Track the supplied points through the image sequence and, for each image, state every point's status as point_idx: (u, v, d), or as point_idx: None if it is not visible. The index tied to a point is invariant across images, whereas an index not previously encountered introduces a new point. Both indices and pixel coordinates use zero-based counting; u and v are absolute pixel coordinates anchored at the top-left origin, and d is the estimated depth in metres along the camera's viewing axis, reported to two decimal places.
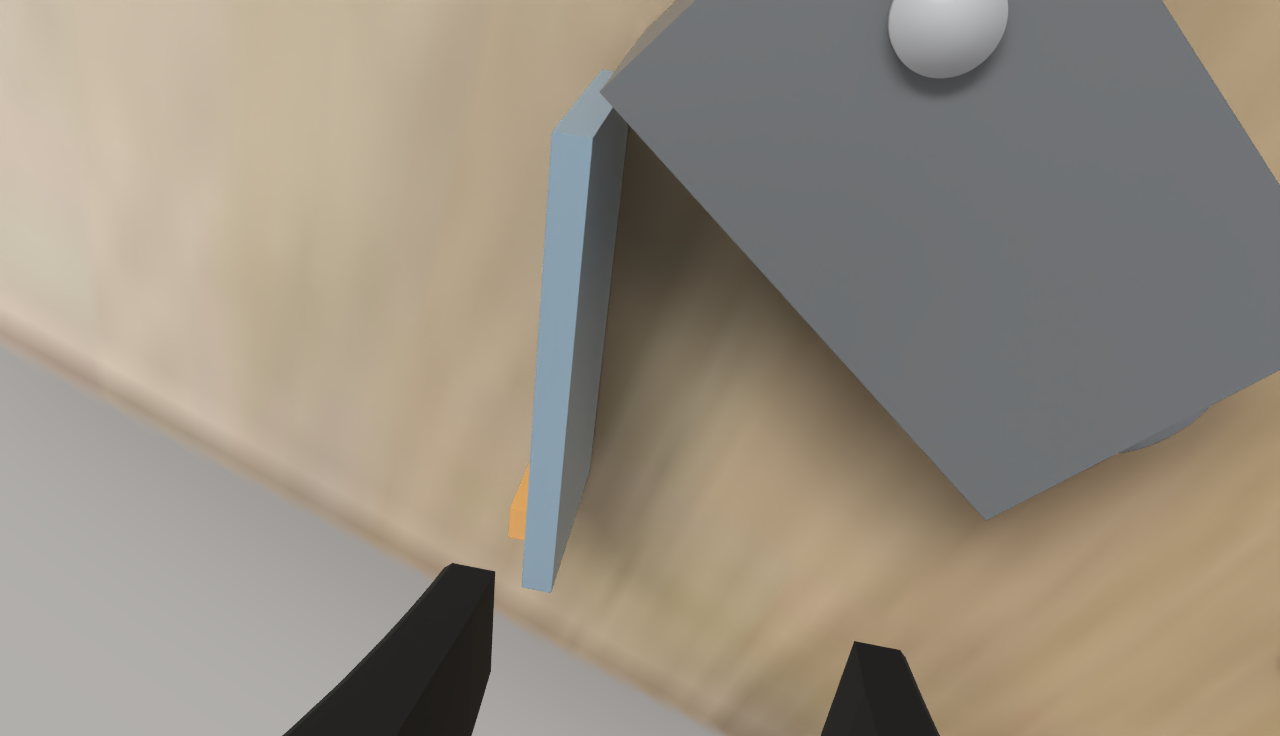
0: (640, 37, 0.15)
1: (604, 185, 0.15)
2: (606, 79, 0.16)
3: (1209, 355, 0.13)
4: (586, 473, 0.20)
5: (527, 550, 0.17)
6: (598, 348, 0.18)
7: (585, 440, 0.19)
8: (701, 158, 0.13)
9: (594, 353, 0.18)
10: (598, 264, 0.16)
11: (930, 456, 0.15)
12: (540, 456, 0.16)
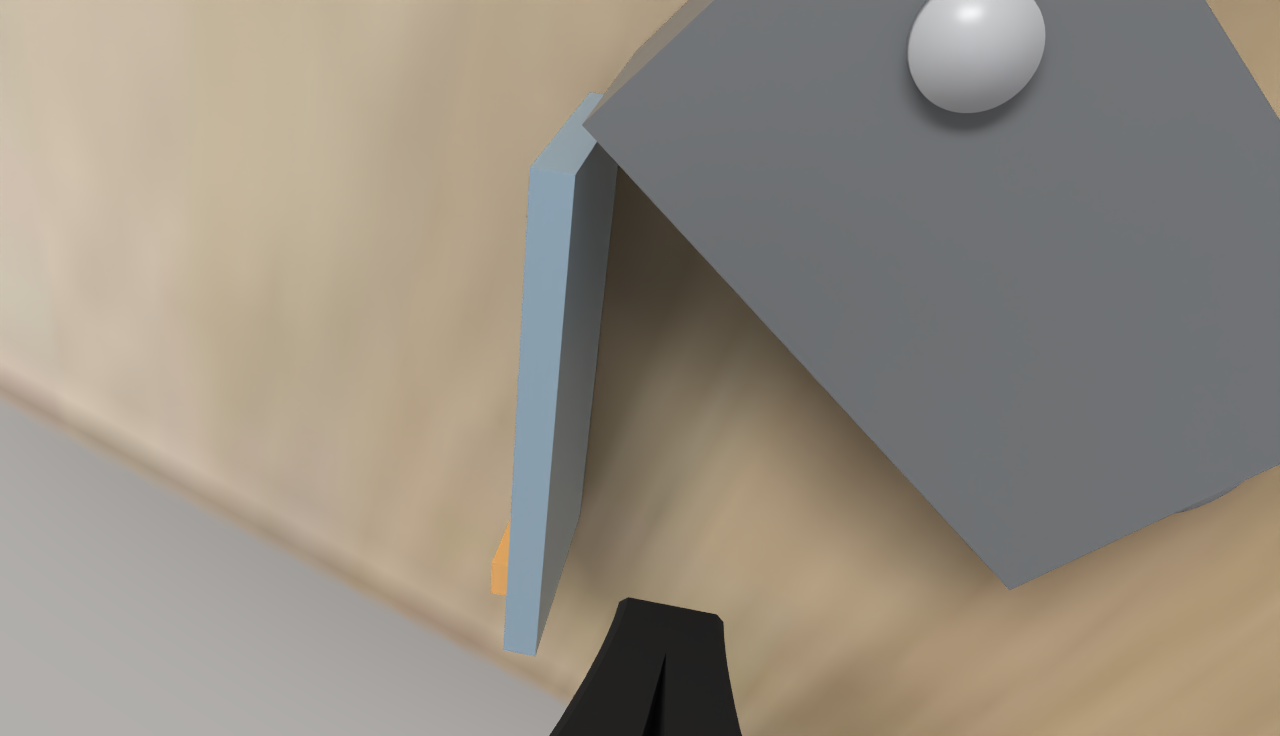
0: (631, 58, 0.14)
1: (591, 221, 0.14)
2: (593, 104, 0.14)
3: (1263, 418, 0.12)
4: (576, 519, 0.19)
5: (509, 612, 0.16)
6: (587, 390, 0.17)
7: (573, 487, 0.18)
8: (695, 198, 0.11)
9: (582, 396, 0.16)
10: (585, 305, 0.15)
11: (949, 520, 0.13)
12: (521, 514, 0.15)
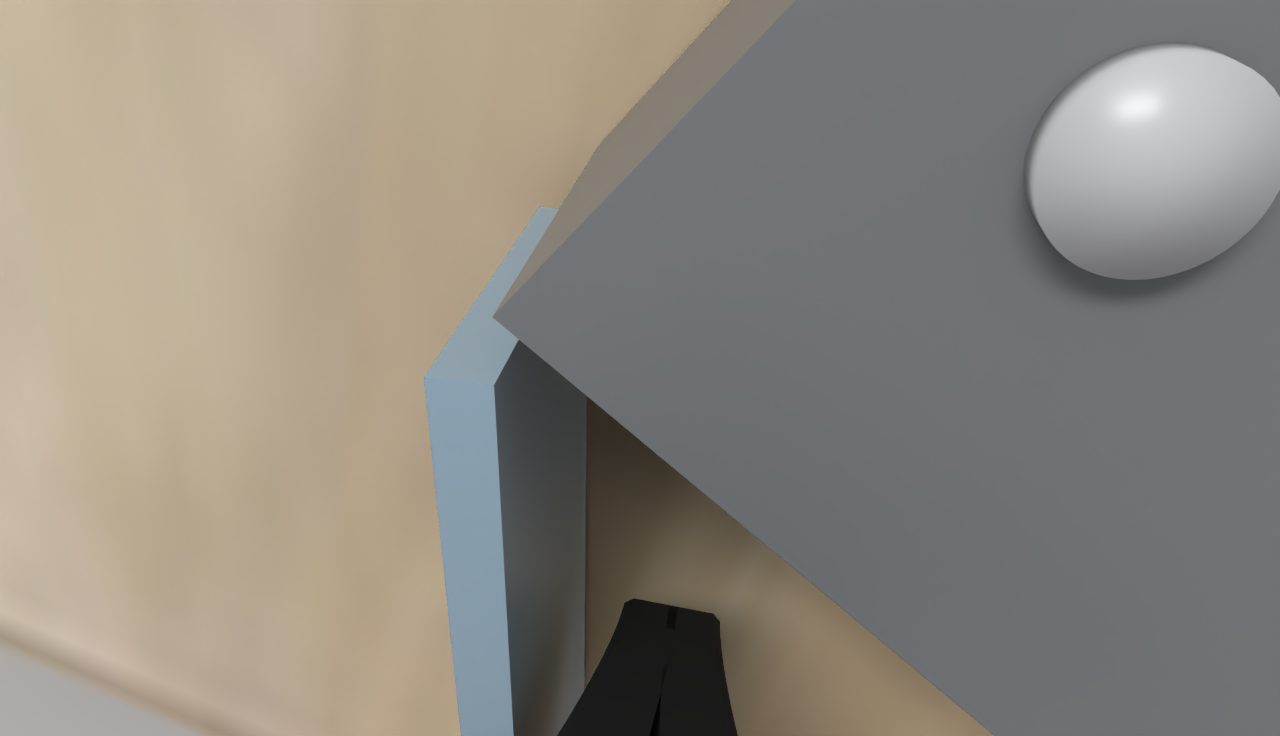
0: (589, 162, 0.10)
1: (544, 406, 0.09)
2: (542, 229, 0.10)
3: None
4: None
5: None
6: (574, 584, 0.13)
7: (567, 705, 0.13)
8: (685, 413, 0.07)
9: (566, 600, 0.12)
10: (551, 507, 0.10)
11: None
12: None
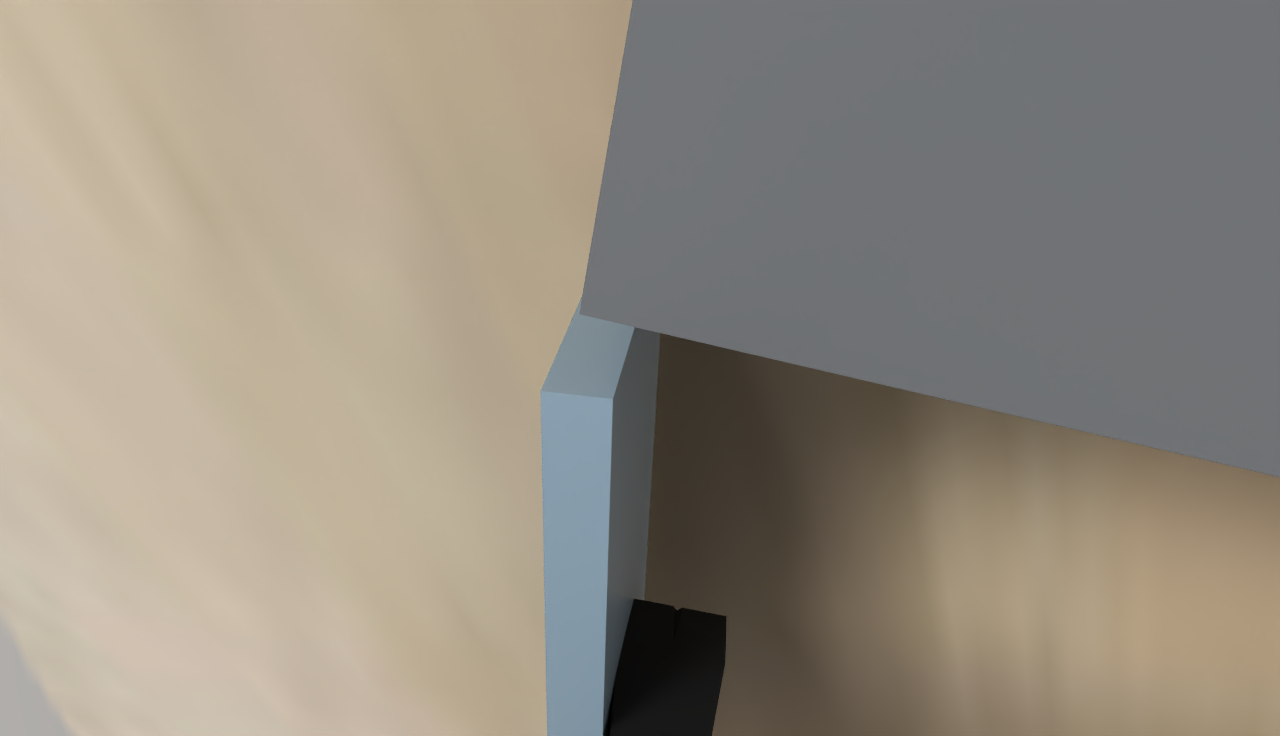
0: None
1: (635, 418, 0.09)
2: None
3: None
4: None
5: None
6: (639, 594, 0.13)
7: None
8: (805, 310, 0.06)
9: None
10: (633, 518, 0.10)
11: None
12: None
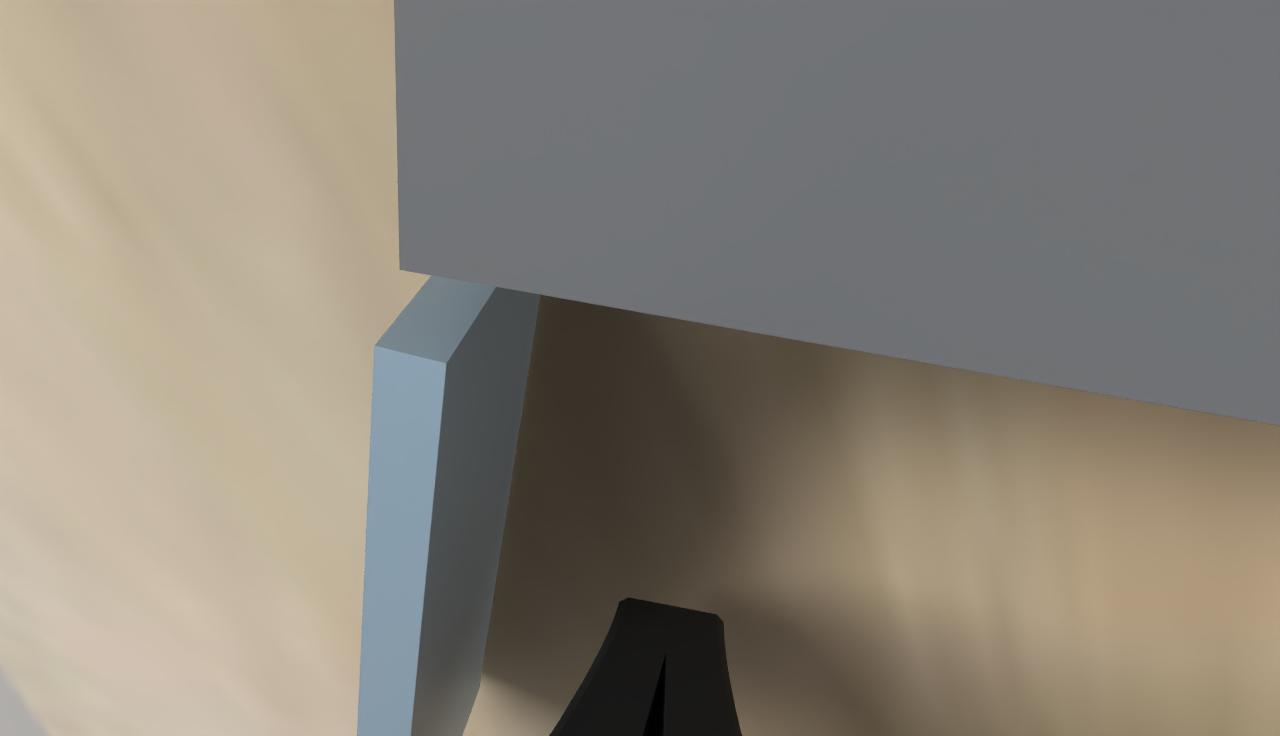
0: None
1: (488, 387, 0.09)
2: None
3: None
4: (471, 702, 0.15)
5: None
6: (488, 563, 0.13)
7: (465, 682, 0.13)
8: (620, 250, 0.06)
9: (479, 580, 0.12)
10: (480, 487, 0.10)
11: None
12: None
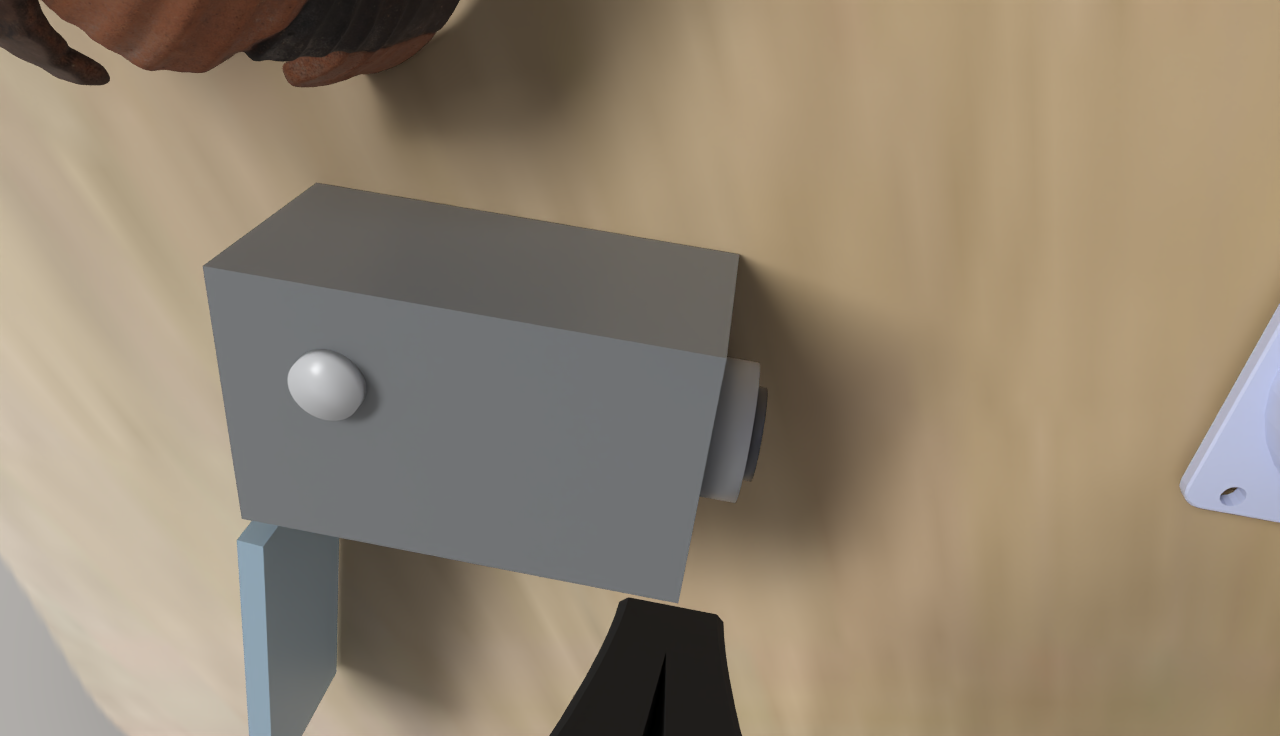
0: None
1: (299, 539, 0.22)
2: None
3: (666, 434, 0.16)
4: (328, 679, 0.27)
5: None
6: (325, 607, 0.25)
7: (317, 667, 0.26)
8: (313, 516, 0.19)
9: (317, 616, 0.25)
10: (303, 577, 0.23)
11: (604, 584, 0.19)
12: (254, 709, 0.23)
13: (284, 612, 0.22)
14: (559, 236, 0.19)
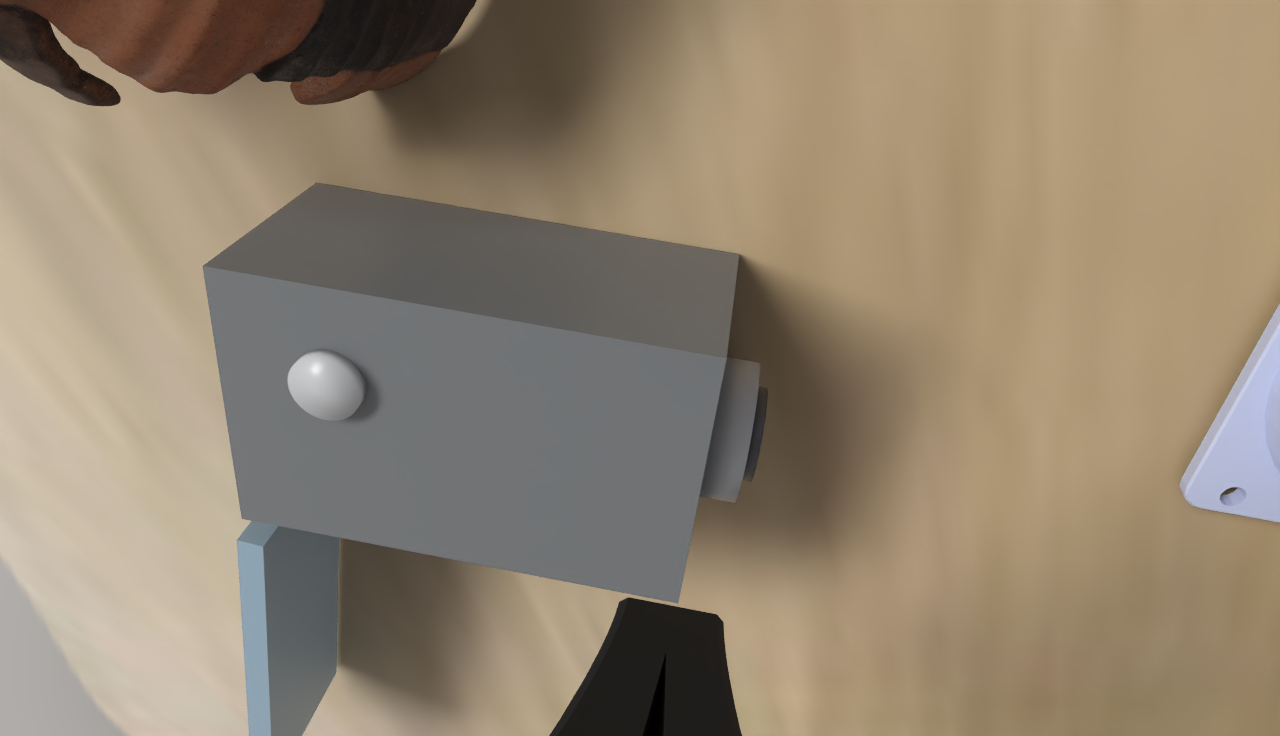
0: None
1: (299, 539, 0.22)
2: None
3: (666, 434, 0.16)
4: (328, 679, 0.27)
5: None
6: (325, 607, 0.25)
7: (317, 667, 0.26)
8: (313, 516, 0.19)
9: (317, 616, 0.25)
10: (303, 577, 0.23)
11: (604, 584, 0.19)
12: (254, 709, 0.23)
13: (284, 612, 0.22)
14: (559, 236, 0.19)
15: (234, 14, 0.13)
